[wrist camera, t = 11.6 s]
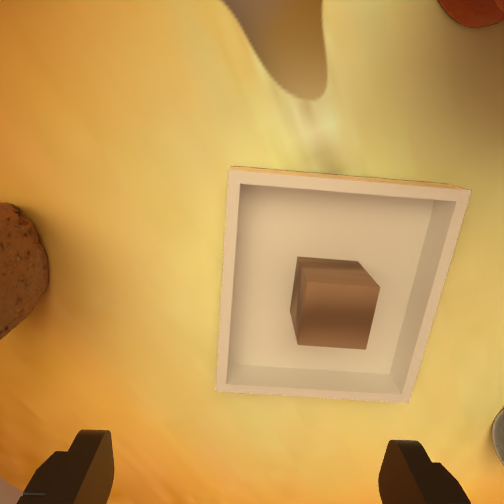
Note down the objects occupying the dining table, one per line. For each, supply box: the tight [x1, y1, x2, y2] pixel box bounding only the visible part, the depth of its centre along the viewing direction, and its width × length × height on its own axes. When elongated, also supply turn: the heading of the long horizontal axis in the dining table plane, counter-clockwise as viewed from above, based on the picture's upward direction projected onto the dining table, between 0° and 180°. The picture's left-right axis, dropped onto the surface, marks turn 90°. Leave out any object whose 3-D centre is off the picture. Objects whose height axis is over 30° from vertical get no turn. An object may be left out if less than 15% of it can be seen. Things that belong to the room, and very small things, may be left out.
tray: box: [216, 166, 472, 403], centre depth 33 cm, size 22×20×4 cm
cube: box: [290, 256, 380, 350], centre depth 31 cm, size 6×6×6 cm
